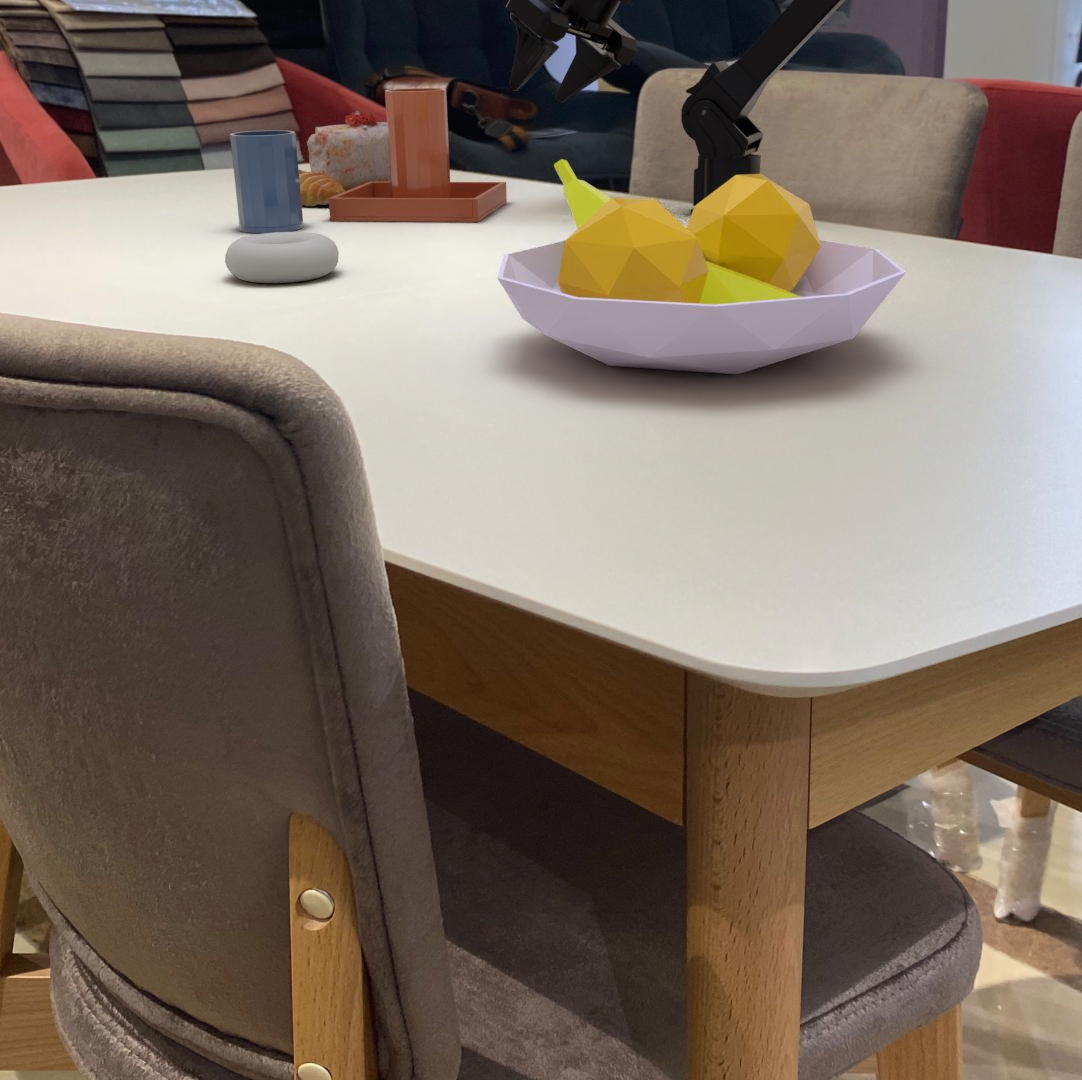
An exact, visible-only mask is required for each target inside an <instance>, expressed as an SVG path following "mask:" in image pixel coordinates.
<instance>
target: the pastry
mask: <svg viewBox="0 0 1082 1080" xmlns="http://www.w3.org/2000/svg"><path fill="white" fill-rule="evenodd" d="M299 181H300V192H301V204H302V206H305V207H312V208H313V207H314V206H317V205H323V206H326V205H329V200H328V199H329V198H331V197H333V196H336V195H338V194H341V193H343V192H345V190H344V189H343V187H342V184H341V183H339V182H337V180H336V179H332V178H330V176H329V175H327V174H323V173H321V172H311V171H307V170H302V169H299Z"/></svg>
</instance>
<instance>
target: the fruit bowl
mask: <svg viewBox="0 0 1082 1080" xmlns="http://www.w3.org/2000/svg"><path fill="white" fill-rule="evenodd" d="M553 167H554V170H555V172H556V173H557V175H558V177H559V179H560V181H561V183H562V184H563V188H562V189H563V193H564V197H565V199H566V201H567V205H568V208H569V210H570V212H571V215H572V218H573V220H574V223H575V226H576V228H577V229H576V230H575V231H574V232H572V234H571V235H569V236H568V237H567V238H566V239H564V240H560V241H556V242H552V243H546V244H544V245H539V246H534V247H531V248H527V249H523V250H519V251H515V252H514V251H513V252H510V253H506V254H503V257H502V261H501V263H500V268H499V270H498V273H497V274H498V275H497V280H498V282H499V284H500V285H501V287H502V288H503V290H504V291H505V293H506V294H507V297H509V299H510V301H511V302H512V304H513V306H514V307H515V309H516V311H517V313H518V314H519V316H520V317H521V319H522V320H523V321H525V322H526V323H527V324H529V325H531V327H533V328H535V329H536V330H538V331H539V332H540V333H541V334H543V335H544V336H546V337H549V338H551V339H553V340H555V341H557V342H558V343H561V344H563V345H565V346H567V347H570V348H572V349H574V350H576V351H578V352H579V353H582V354H584V355H586V356H588V357H590V358H592V359H595V360H597V361H598V362H601V363H602V364H604V365H607V366H610V367H621V368H622V367H623V368H635V369H637V368H638V369H652V370H666V371H681V372H694V373H707V374H708V373H709V374H722V375H723V374H724V375H736V376H737V375H740V374H744V373H747V372H750V371H753V370H756V369H760V368H762V367H766V366H768V365H773V364H775V363H778V362H779V363H780V362H782V361H785V360H788V359H792V358H795V357H798V356H801V355H805V354H808V353H812V352H814V351H817V350H821V349H824V348H827V347H830V346H833V345H834V346H835V345H836V344H841V343H843V342H847V341H850V340H853V339H854V338H855V337H856V336H857V334H859V332H860V331H861V330H862V329H863V327H864V326H865V325H866V323H867V322H868V321H869V319H870V318H871V317H872V316H873V315H874V314H875V312H876V311H877V310H878V308H879V307H880V306H881V305H882V303H883V302H884V301H885V300H886V298H887V297H888V296H889V294H890V293H891V292H892V291H893V289H895V287H896V286H897V285H898V284H899V282H900V281H901V280H902V278H903V277H904V276H905V275H906V273H907V271H906V270H904V269H903V268H902V267H901V266H899V265H898V264H897V263H896V262H895V261H893V260H892V259H891V258H890V257H888V256H887V255H886V254H885V253H883V252H882V251H881V250H880V249H878V248H874V247H867V246H863V245H862V246H861V245H856V244H849V243H844V242H838V241H832V240H827V239H821V238H819V235H818V231H817V228H816V224H815V220H814V216H813V212H812V210H811V205H810V203H808V202H807V201H805V200H804V199H802V198H801V197H799V196H797V195H796V194H795V193H792V192H791V191H789V190H787V189H786V188H784V187H783V186H781V185H780V184H778V183H777V182H775V181H773V180H772V179H770V178H769V177H767V176H765V175H764V174H762V173H760V174H744V175H735V176H734V177H732V178H731V179H730V180H728V181H727V182H726V183H724V184H723V185H722V186H720V187H719V188H718V189H716V190H715V191H714V192H712V193H711V194H710V195H708V196H707V197H706V198H704V199H703V200H702V201H700V202H699V203H698V204H697V205H695V206H694V205H693V208H694V209H693V212H692V213H691V215H690V217H689V220H688V224H687V226H684V224H682V222H681V221H679V220H678V219H677V218H676V217H675V216H674V215H673V214H672V213H671V212H670V211H668V210H667V209H666V208H665V206H663V204H662V203H660V202H659V201H658V200H657V199H655V198H635V197H611V196H609V195H607V194H606V193H605V192H603V191H601V190H600V189H598V188H596V187H595V186H593V185H591V183H588V182H587V181H586V180H583V179H579V178H578V177H577V176H576V174H575V173H574V170H573V169H572V167H571V165H570V163H569V162H568V160H567V159H562V158H560V159H559V160H558V161H556V162H555V163H553Z"/></svg>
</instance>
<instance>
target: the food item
mask: <svg viewBox="0 0 1082 1080" xmlns="http://www.w3.org/2000/svg"><path fill="white" fill-rule="evenodd" d="M344 118H345V119H344V123H342V124H330V125H324V126H316V127H315V129H314V130H315V131H314V132H315V133H313V134H311V135H310V136H309V137H308V139H307V141H306V146H307V151H308V158H309V159H308V162H309V167H310V172H321V173H323V174H327V175H329V176H330V178H332V179H336V180H337V182H339V183H341V184H342V187H343V189H344V190H345V191H348V190H350V189H353V188H355V187H358V186H360V185H363V184H365V183H368V182H390V166H389V150H388V133H387V121H377V118H376V116H374V115H373V114H372V113H370V112H369V111H367V112H366V113H361V112H360V111H358V110H356V111H355V112H350V114H347V115H346V116H344Z"/></svg>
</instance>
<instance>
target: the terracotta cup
mask: <svg viewBox="0 0 1082 1080" xmlns="http://www.w3.org/2000/svg"><path fill="white" fill-rule="evenodd" d="M384 98H385V99H384V100H385V114H386V116H385V117H386V122H387V133H388V150H389V166H390V182H391V198H451V187H450V182H451V169H450V167H451V166H450V165H451V164H450V146H449V145H450V144H449V123H448V122H449V121H448V120H449V119H448V101H447V89H446V88H440V87H411V88H410V87H409V88H393V89H386V90H384Z"/></svg>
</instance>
